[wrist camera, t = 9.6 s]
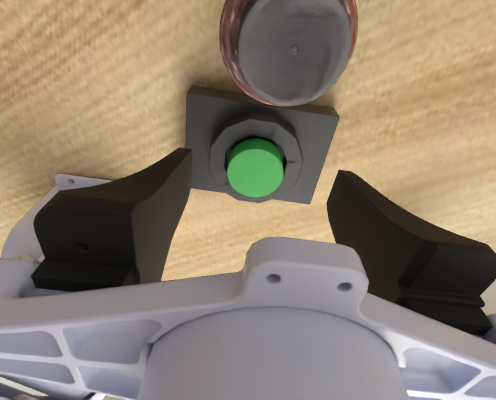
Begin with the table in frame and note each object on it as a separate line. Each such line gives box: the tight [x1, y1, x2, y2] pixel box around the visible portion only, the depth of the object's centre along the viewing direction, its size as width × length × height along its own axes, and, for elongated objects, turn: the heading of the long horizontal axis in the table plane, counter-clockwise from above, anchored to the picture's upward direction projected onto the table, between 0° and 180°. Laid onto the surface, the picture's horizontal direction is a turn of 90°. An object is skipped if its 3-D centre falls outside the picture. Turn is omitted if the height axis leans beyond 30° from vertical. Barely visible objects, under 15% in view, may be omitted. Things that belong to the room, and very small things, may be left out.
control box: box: [186, 86, 339, 204], centre depth 23 cm, size 11×8×4 cm
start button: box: [227, 138, 284, 197], centre depth 21 cm, size 4×4×2 cm
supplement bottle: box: [219, 0, 358, 106], centre depth 15 cm, size 6×6×11 cm
